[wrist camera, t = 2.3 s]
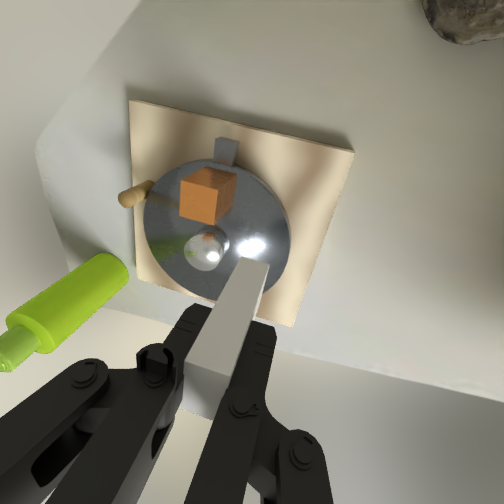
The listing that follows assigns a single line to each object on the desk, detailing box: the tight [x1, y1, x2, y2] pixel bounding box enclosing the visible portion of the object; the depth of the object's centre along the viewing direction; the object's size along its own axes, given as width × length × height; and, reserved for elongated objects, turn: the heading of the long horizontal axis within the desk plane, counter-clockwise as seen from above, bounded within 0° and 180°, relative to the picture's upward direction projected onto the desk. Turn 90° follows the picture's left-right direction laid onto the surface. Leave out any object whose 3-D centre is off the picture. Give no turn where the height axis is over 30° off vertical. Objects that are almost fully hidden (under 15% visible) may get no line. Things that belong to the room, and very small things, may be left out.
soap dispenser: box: [0, 253, 129, 372], centre depth 33 cm, size 6×7×20 cm
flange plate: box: [143, 137, 292, 301], centre depth 27 cm, size 18×16×6 cm
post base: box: [118, 100, 355, 328], centre depth 30 cm, size 22×22×6 cm
